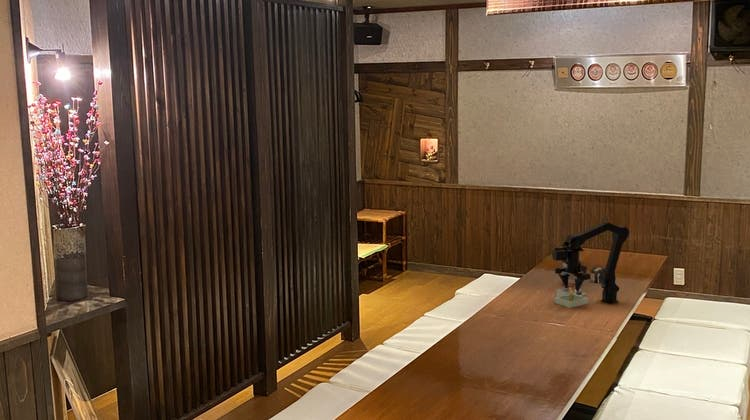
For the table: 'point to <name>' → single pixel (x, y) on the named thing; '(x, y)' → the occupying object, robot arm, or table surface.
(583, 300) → the tray
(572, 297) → the lock pin
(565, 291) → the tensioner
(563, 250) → the robot arm
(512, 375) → the table surface
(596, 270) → the architectural model
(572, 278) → the coffee cup
